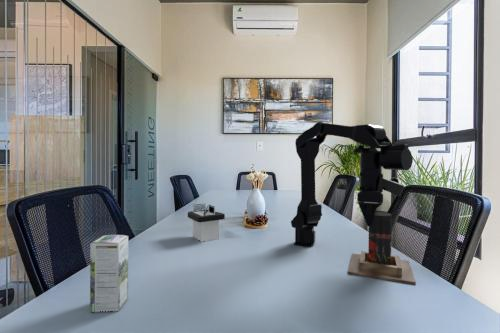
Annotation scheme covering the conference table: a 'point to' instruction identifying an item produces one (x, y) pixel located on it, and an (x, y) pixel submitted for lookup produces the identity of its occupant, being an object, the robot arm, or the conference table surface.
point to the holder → (381, 269)
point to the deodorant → (380, 239)
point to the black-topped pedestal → (205, 222)
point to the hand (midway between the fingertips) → (369, 222)
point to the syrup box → (108, 273)
